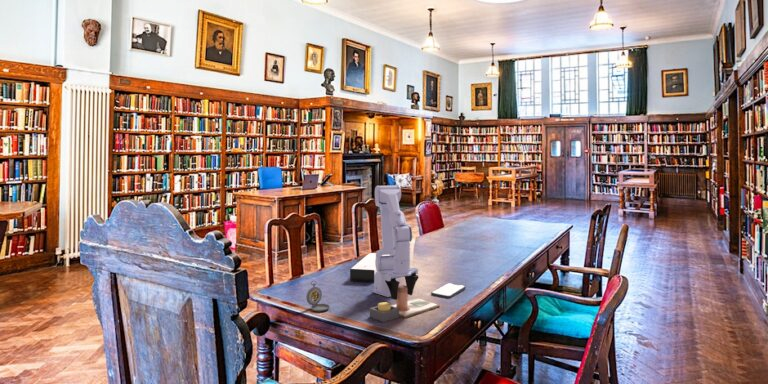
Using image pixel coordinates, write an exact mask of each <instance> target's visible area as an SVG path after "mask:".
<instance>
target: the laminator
mask: <svg viewBox="0 0 768 384" xmlns="http://www.w3.org/2000/svg"><path fill="white" fill-rule="evenodd" d="M376 253H377V252H369V253H368V254H366V255H365V256H364V257H363V258H362V259H360V260H359V261H358V262H357V263H356V264H355V265H353V266H352V267H351V268H350V269H349V281H350V282H359V283H361V282H362V283H374V276H375V273H376V272H377V270H376V266H375V259H376ZM382 256H391V255H382Z"/></svg>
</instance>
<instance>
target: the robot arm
mask: <svg viewBox="0 0 768 384" xmlns="http://www.w3.org/2000/svg"><path fill="white" fill-rule="evenodd" d="M401 198H402V187H401V186H400V184H395V185H376V186H375V188H374V203H375V206H376V207H378V208H379V211H380V227H381V230H380V231H381V248H380V249H379V250H377V251H376V252H375V253H376V259H375V266H376V270H377V272H376V273H375V276H374V282H373V283H374V285H373V286H374V290H372V293H375V294H378V295H380V296H383V297H385V298H386V297H387V298H389V297H390V298H391V299H392V300H395V301H396V300H397V292H398V286H399V285H400V281H399V280H398V279H399V278H404V279H405V286H407V292H408V296H413V293H414V289H415V286H416V283H417V281H418V280H419V268H416V267H411V248H410V247H411V242H412V240H413V231H412V226H411V225H410V224H409V223H407V219H406V217H405V213H404V212H403V211H402V210H401V209H400V204H399V203H400V201H401ZM382 255H390V256H382Z"/></svg>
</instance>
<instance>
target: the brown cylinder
mask: <svg viewBox="0 0 768 384" xmlns="http://www.w3.org/2000/svg"><path fill="white" fill-rule="evenodd" d="M408 296H409V295H408V292H407V286H406V285H403V284H402V285H400V284H399V286H398V292H397V300H395V302H396V303H395V304H396V308H399V310H400V311H404V310H407V309H408V300H409V299H408Z"/></svg>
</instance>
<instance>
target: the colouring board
mask: <svg viewBox="0 0 768 384" xmlns="http://www.w3.org/2000/svg"><path fill="white" fill-rule="evenodd" d="M391 306H393V307H396V303H394V304H392V305H391ZM437 308H440V304H437V303H434V302H431V301H427V300H425V299H422V298H418V297H414V298H411V299H408V309H407V310H404V311H400V310H399V317H398V318H401V319H408V318H411V317H414V316H417V315H420V314H423V313H425V312H428V311H432V310H434V309H437Z"/></svg>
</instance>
